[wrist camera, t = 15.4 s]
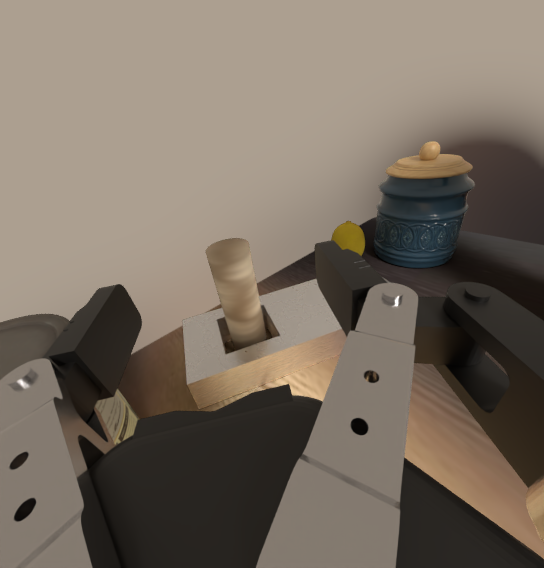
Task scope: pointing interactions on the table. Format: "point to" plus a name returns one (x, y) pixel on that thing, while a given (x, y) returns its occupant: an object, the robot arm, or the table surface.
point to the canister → (422, 208)
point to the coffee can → (34, 344)
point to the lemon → (349, 237)
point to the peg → (237, 291)
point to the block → (261, 344)
